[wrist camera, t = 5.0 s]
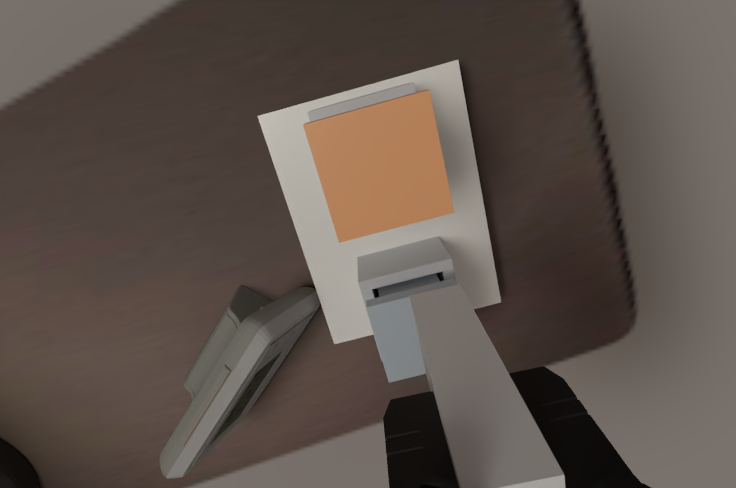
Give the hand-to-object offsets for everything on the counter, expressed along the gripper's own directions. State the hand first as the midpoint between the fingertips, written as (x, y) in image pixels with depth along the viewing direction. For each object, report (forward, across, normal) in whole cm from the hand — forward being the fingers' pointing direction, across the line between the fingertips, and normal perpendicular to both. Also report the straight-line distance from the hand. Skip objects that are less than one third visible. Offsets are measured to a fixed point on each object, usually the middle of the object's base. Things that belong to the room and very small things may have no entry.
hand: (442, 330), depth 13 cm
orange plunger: (+18, -1, +3) cm, 18 cm away
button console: (+25, 0, -3) cm, 25 cm away
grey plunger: (+21, 0, -9) cm, 23 cm away
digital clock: (+25, -15, -13) cm, 32 cm away
